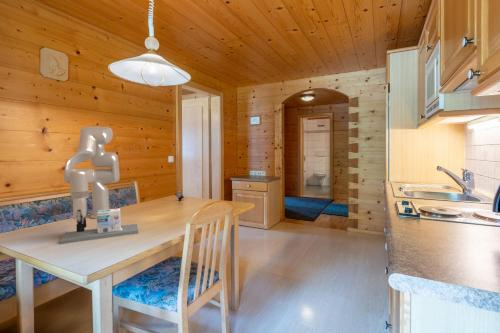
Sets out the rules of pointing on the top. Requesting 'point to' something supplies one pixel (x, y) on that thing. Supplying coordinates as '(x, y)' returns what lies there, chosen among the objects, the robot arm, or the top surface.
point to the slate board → (97, 234)
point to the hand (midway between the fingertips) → (81, 229)
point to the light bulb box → (108, 220)
